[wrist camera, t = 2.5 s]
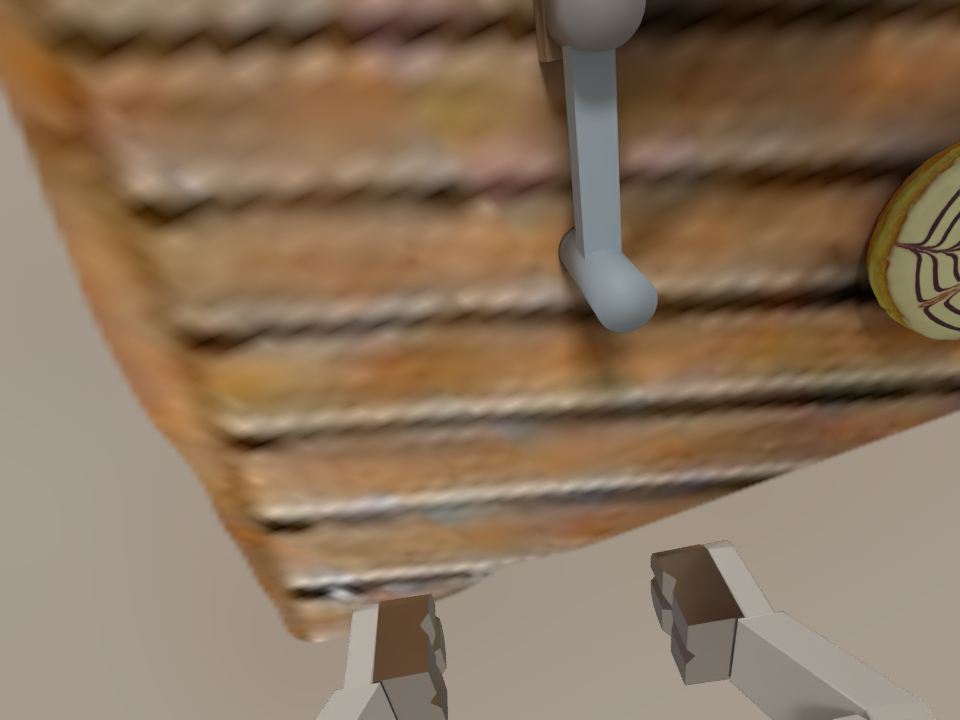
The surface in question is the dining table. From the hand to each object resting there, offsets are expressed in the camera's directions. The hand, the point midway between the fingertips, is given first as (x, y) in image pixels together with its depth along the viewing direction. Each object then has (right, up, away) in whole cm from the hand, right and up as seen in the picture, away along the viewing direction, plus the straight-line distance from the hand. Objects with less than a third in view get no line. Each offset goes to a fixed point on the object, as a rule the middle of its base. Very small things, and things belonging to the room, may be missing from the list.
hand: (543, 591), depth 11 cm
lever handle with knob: (+3, +14, +14) cm, 20 cm away
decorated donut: (+24, +12, +18) cm, 32 cm away
